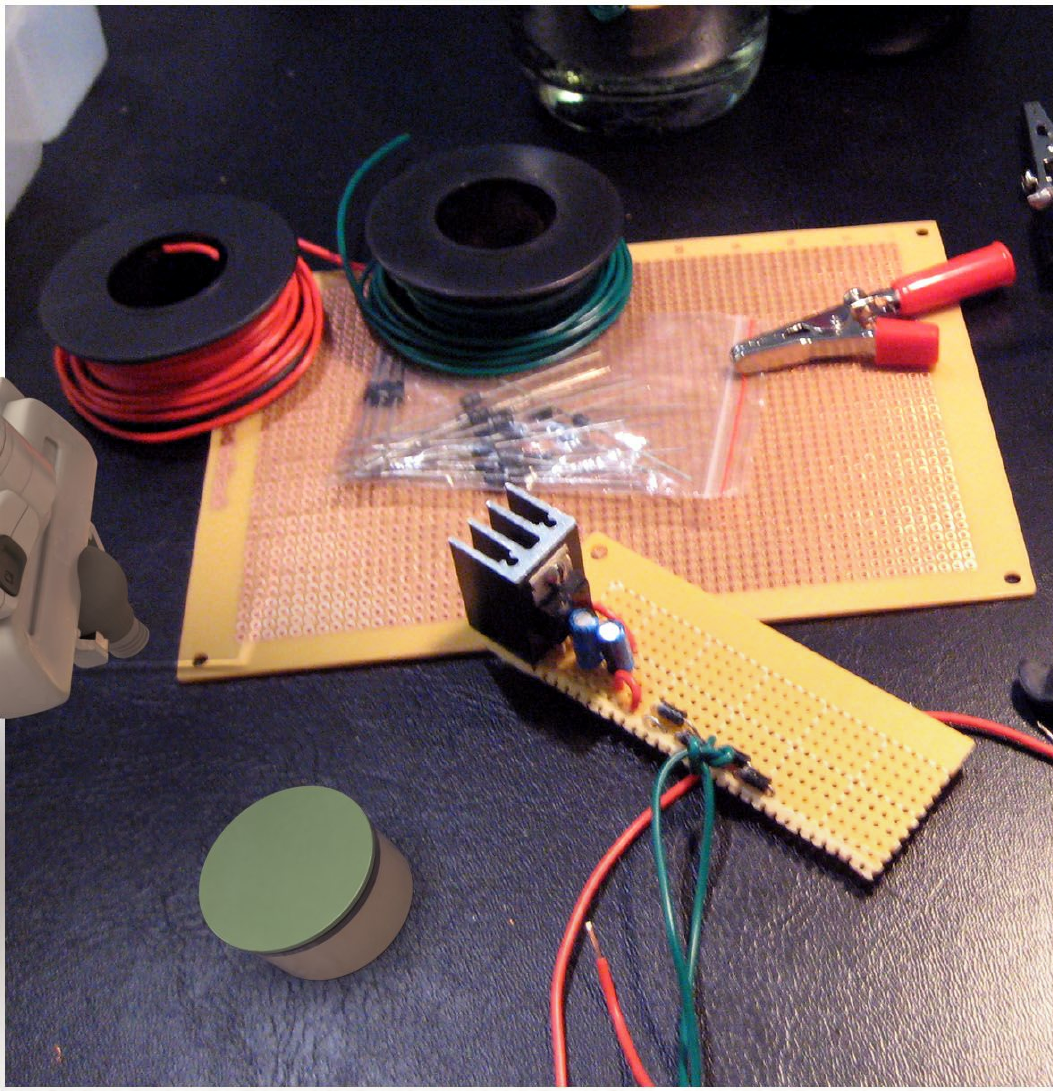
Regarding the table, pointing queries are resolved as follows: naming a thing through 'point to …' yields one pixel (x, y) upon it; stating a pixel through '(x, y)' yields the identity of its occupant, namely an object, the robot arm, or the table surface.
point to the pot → (306, 884)
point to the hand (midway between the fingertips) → (101, 617)
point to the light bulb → (108, 604)
